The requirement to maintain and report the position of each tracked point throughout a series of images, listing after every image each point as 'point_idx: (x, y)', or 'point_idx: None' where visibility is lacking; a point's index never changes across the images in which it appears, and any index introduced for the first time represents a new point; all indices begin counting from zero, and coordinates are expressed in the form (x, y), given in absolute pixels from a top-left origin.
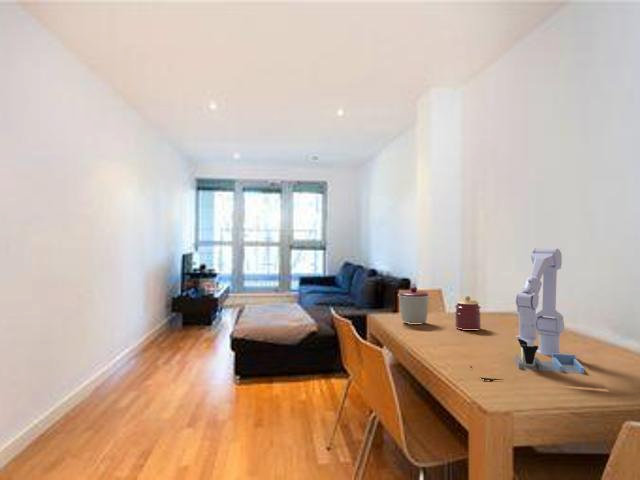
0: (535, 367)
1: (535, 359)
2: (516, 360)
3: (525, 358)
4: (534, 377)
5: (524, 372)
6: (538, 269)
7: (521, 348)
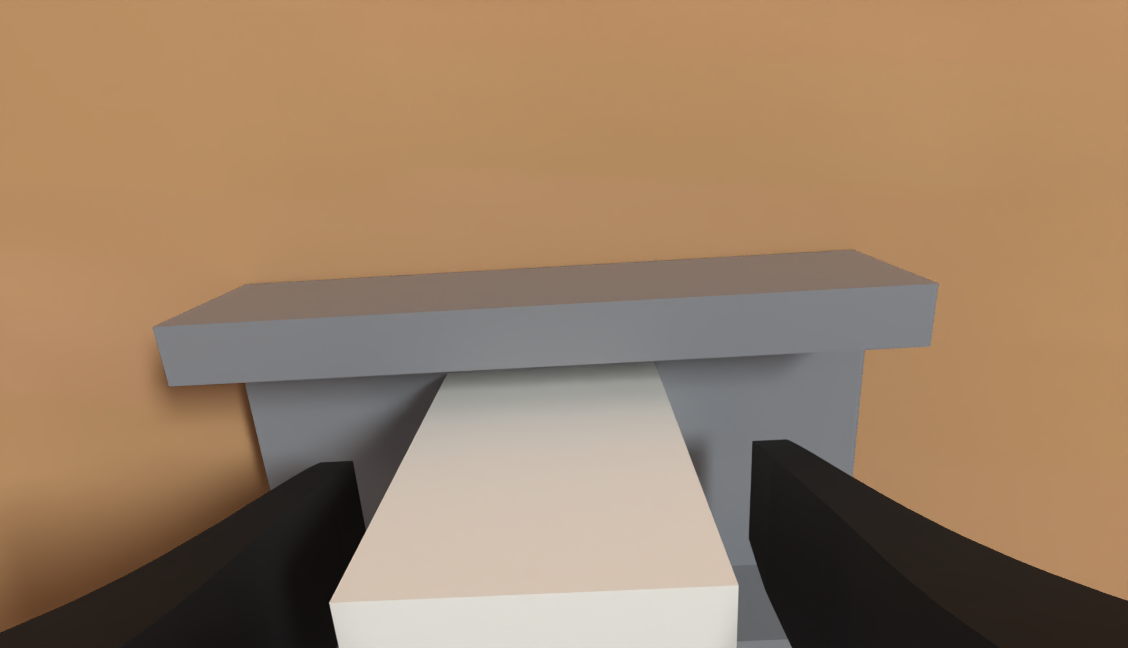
0: None
1: None
2: (601, 286)
3: (240, 513)
4: (13, 481)
5: None
6: None
7: (642, 567)
